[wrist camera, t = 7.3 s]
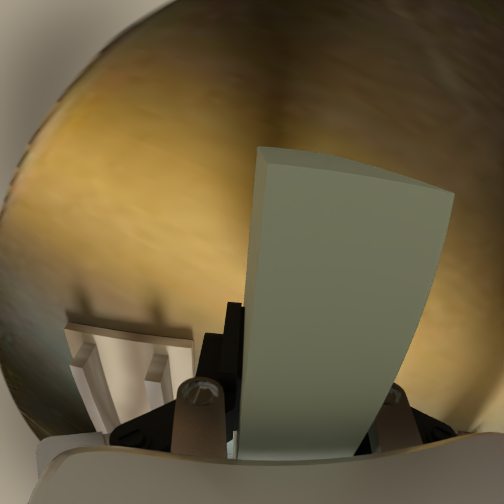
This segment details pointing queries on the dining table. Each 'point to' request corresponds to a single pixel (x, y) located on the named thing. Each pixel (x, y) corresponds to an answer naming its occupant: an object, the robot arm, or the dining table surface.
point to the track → (126, 372)
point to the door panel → (330, 298)
